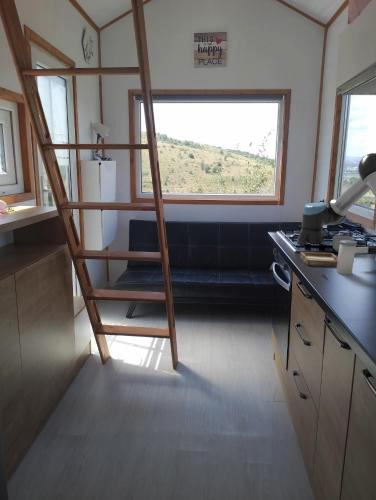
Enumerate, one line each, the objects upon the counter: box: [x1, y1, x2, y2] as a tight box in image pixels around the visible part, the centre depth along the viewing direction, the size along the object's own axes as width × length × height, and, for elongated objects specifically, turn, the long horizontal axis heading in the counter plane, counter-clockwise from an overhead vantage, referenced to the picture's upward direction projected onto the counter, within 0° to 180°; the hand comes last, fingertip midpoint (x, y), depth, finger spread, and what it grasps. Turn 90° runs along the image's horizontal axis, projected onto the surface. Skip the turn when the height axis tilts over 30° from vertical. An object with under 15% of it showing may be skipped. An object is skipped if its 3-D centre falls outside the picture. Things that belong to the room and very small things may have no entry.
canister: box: [335, 240, 358, 276], centre depth 171 cm, size 7×7×14 cm
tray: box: [299, 251, 338, 268], centre depth 189 cm, size 16×16×2 cm
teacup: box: [332, 234, 355, 253], centre depth 211 cm, size 14×11×8 cm
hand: (365, 254), depth 173 cm, fingers open, 13 cm apart
